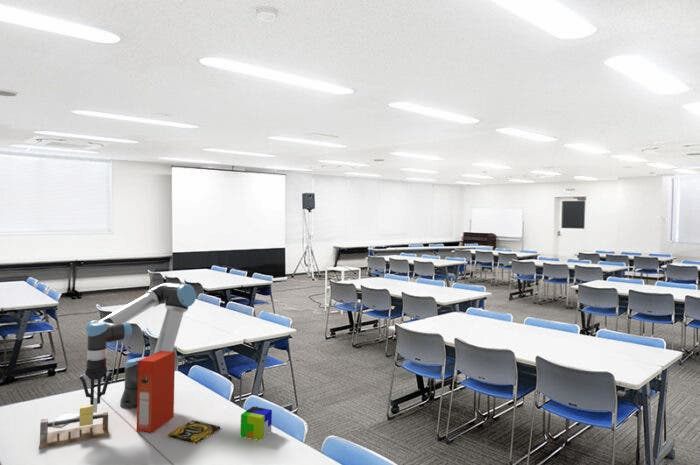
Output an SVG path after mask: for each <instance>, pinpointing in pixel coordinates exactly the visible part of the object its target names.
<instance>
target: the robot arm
mask: <svg viewBox="0 0 700 465" xmlns="http://www.w3.org/2000/svg"><path fill="white" fill-rule="evenodd" d="M196 299H197V294H196V291H195V288H194V287H193V286H192V285H191V284H187V283H184V282H183V283H182V282H181V283H180V282H170V281H169V282H167V281H166V282H164V283H161V284H158V285H156V286H154V287H152V288H150V289H148V290H147V291H145V293H144V295H142V296H140V297H138V298H136V299H135V300H133V301H131V302H129V303H127V304H125V305H124V306H123V307H120V308H119V309H117V310H115V311H113V312H112V313H110V314H108V315H106V316H105V317H103V318H101V319H94V320H91V321H89V322H88V323H87V325H86V328H85V329H86V330H85V331H86V333H87V334H86V335H87V345H86V346H87V350H86V351H87V353H86V370H85V371H84V373H83V374H81V375H79V380H80V381H81V382H82V386H83V391H84V393H85V394H84V395H85V397H86V398H90V400H89V401H90V402H89V404H90V405H93V414H96V413H97V412H98V405H99V404H100V403H101V397H102V396H105V394H106V392H107V388H108V385H109V381H110V379H111V377H112V376H113V372H112V371H110V370H108V368H107V349H108V347H107V346H108V344H109V343H114V342H118V341H123V340H124V341H125V340H127V339H129V338H130V337H131V336H132V334H133V328H132V325H131V324H130V323H129V321H131V320H132V319H134V318H135V317H138V316H139V315H141V314H143V313H144V312H146V311H147V310H149V309H150V308H152V307H153V308H155V307H158V306H159V305H163V304H164V306H165V308H166V312H165V315H164V318H163V322H162V325H161V328H160V331H159V335H158V338H157V341H156V345H155V349H154V352H153V354H155V353H157V352H159V351H171V352H174V347H175V344H176V340H177V337H178V333H179V330H180V327H181V323H182V319H183V316H184V314H185V313H186V312H188V309H189V307H191V306H193V304H194V303H195V301H196ZM146 357H147V356H140V357H135V358H131V359H128V360H127V361H126V362H125V366H124V389H123V392H122V396H121V398H120V400H119V401H120V404H119V405H120V407H121V408H125V409H137V383H138V361H139V360H141V359H143V358H146ZM104 376H105V380H104V384H103V386H102V378H103V377H104ZM87 377H88V379H89V380H90V392H89V388H88V385H87V381H86V378H87ZM95 380H96V381H97V388H96V389H97V391H96V392H97V393H96V395H95Z"/></svg>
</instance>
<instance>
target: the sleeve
mask: <svg viewBox="0 0 700 465" xmlns="http://www.w3.org/2000/svg"><path fill="white" fill-rule="evenodd" d="M79 414H80V422H78V423H79V424H78V425H79V426H78V427H85V426H91V425H94V419H93V415H94V413H93V405H91V404H90V405H89V404H88V405H83V406H80V407H79Z"/></svg>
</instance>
